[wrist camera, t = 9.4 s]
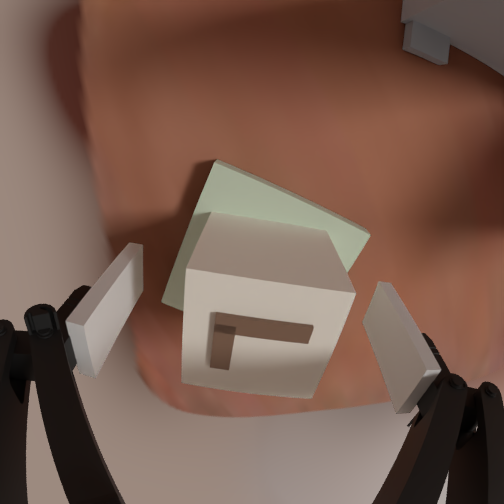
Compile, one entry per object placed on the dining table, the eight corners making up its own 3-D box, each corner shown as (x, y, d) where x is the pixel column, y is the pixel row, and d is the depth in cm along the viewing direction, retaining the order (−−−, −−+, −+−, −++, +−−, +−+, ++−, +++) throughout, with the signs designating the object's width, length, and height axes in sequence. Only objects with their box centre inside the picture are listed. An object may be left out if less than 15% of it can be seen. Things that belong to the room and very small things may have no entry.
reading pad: (217, 159, 16) (214, 162, 15) (365, 228, 17) (370, 235, 16) (165, 293, 19) (160, 302, 18) (292, 341, 21) (293, 351, 20)
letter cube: (211, 211, 16) (184, 271, 10) (326, 230, 16) (357, 296, 11) (201, 307, 19) (180, 386, 13) (300, 321, 19) (311, 401, 13)
